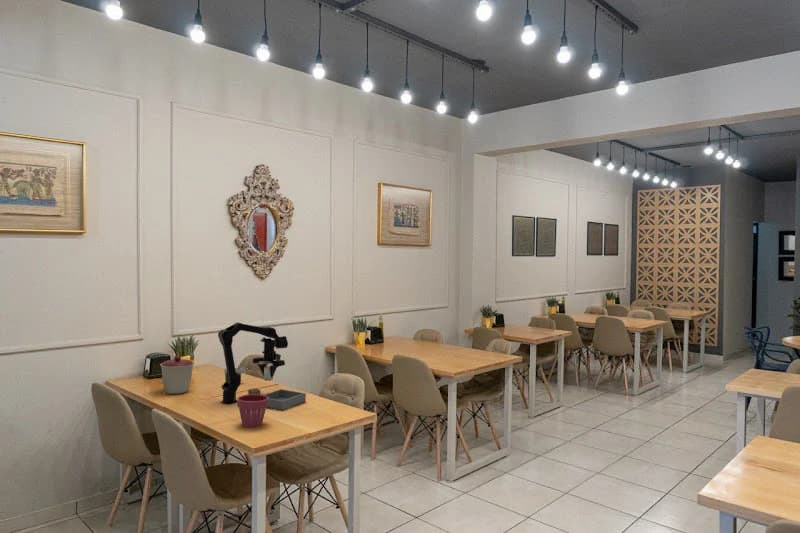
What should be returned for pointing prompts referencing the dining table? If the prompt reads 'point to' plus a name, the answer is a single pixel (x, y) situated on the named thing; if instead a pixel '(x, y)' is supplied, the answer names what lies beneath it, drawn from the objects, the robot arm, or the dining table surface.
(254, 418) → the plant pot
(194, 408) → the dining table surface
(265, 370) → the sage cylinder
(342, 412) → the dining table surface
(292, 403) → the tote
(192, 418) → the dining table surface
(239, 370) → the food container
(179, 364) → the canister
